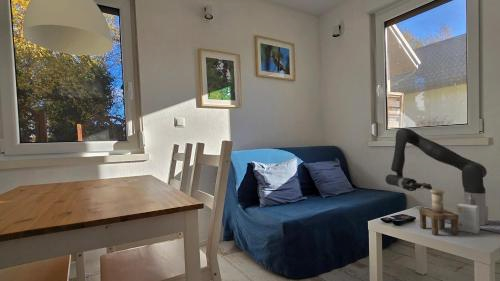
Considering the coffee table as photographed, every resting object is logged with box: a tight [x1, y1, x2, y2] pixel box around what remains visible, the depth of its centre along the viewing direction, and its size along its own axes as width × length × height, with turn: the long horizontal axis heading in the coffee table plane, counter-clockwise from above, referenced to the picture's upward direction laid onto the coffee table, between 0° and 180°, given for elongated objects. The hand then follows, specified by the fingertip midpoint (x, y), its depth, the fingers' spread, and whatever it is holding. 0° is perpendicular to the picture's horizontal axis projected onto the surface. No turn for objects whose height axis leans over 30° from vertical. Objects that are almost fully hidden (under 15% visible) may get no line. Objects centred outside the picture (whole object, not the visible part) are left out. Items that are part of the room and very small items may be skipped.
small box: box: [455, 203, 480, 234], centre depth 137 cm, size 8×6×13 cm
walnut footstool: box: [418, 208, 459, 236], centre depth 138 cm, size 12×12×10 cm
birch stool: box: [429, 188, 445, 213], centre depth 138 cm, size 6×6×11 cm
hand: (423, 188), depth 150 cm, fingers open, 8 cm apart
